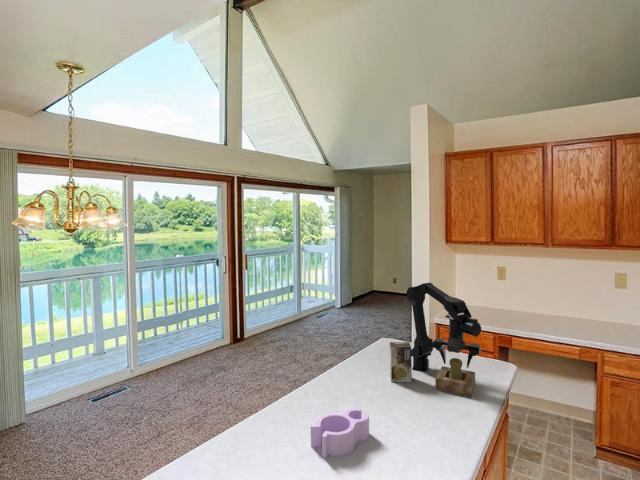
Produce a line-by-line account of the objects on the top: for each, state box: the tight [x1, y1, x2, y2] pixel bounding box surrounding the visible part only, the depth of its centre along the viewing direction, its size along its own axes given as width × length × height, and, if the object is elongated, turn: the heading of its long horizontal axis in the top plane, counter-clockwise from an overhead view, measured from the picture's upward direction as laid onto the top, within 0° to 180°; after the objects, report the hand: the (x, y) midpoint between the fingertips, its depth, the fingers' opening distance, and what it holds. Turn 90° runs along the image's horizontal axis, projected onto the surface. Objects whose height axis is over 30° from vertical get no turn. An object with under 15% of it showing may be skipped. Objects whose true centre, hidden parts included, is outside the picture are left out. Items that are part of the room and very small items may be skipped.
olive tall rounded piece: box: [449, 357, 463, 380], centre depth 159 cm, size 6×6×11 cm
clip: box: [310, 407, 370, 459], centre depth 122 cm, size 20×12×7 cm, turn 124°
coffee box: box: [389, 341, 413, 383], centre depth 166 cm, size 9×6×16 cm
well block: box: [434, 365, 476, 398], centre depth 159 cm, size 14×14×5 cm
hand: (456, 365), depth 158 cm, fingers open, 9 cm apart
